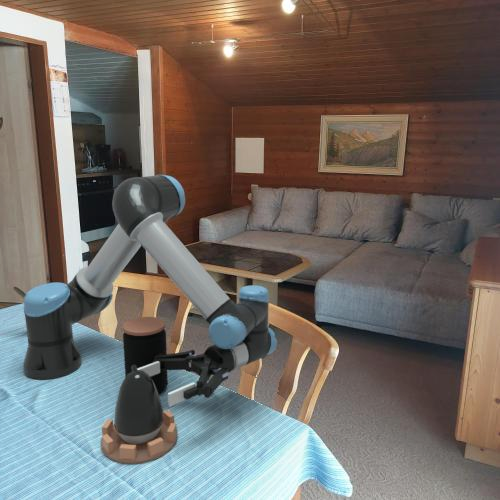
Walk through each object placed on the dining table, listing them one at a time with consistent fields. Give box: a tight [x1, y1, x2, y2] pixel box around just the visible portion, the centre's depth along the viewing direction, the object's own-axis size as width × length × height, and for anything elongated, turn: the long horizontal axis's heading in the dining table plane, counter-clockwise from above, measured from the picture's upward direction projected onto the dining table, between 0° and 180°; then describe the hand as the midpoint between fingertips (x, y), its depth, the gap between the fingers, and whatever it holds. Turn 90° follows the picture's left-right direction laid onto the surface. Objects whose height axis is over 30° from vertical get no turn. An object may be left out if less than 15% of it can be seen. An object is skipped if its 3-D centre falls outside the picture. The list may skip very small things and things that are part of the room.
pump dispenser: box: [113, 365, 164, 444], centre depth 96 cm, size 10×10×15 cm
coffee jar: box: [122, 316, 169, 396], centre depth 116 cm, size 11×11×18 cm
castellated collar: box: [100, 409, 179, 465], centre depth 98 cm, size 16×16×3 cm
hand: (150, 387), depth 97 cm, fingers open, 13 cm apart
